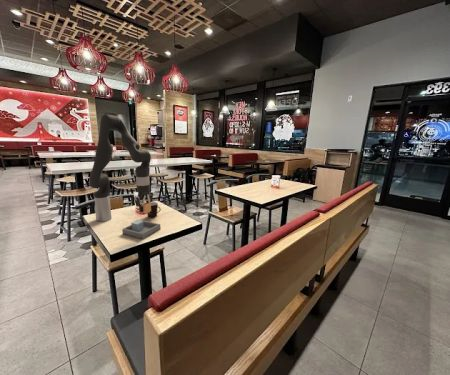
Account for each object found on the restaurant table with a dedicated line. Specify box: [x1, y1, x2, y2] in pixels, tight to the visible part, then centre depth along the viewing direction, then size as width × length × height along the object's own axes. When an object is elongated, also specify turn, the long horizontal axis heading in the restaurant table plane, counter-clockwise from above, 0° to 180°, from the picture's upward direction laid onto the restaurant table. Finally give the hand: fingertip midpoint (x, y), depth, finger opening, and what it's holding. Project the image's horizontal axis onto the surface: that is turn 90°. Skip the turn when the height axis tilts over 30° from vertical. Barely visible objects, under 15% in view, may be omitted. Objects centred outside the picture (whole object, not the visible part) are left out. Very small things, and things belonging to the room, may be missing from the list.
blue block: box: [130, 219, 144, 232], centre depth 137 cm, size 5×5×5 cm
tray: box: [121, 219, 161, 240], centre depth 136 cm, size 16×16×4 cm
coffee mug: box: [146, 201, 162, 219], centre depth 160 cm, size 12×9×10 cm
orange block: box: [138, 201, 151, 215], centre depth 131 cm, size 5×5×5 cm
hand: (145, 210), depth 131 cm, fingers closed on orange block, 5 cm apart
